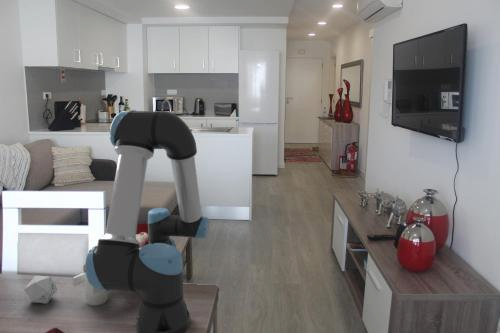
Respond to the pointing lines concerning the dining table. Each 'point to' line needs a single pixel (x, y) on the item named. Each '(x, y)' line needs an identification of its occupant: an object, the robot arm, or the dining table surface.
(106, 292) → the jar
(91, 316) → the dining table surface
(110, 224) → the robot arm
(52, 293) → the die
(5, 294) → the dining table surface
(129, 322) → the dining table surface
